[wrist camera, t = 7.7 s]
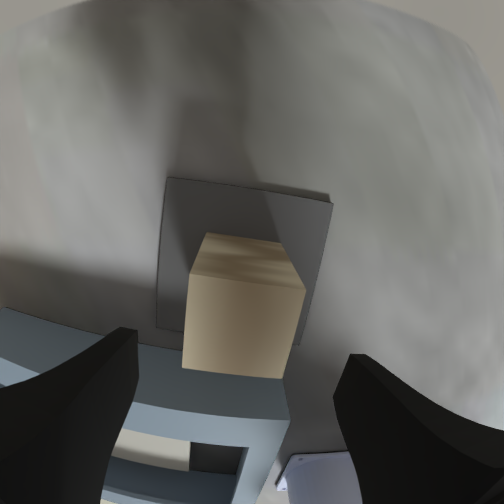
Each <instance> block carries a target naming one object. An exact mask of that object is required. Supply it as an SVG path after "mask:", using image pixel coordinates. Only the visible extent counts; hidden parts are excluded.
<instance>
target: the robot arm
mask: <svg viewBox="0 0 504 504" xmlns="http://www.w3.org/2000/svg"><path fill="white" fill-rule="evenodd" d="M138 381H139V361H138V331H137V330H133V329H128V328H123V327H119V328H118V329H116V330H114V331H113V332H111V333H110V334H108V335H107V336H105V337H104V338H102V339H101V340H99V341H98V342H96V343H95V344H93V345H92V346H90V347H89V348H87V349H86V350H84V351H82V352H81V353H79V354H78V355H76V356H74V357H72V358H70V359H69V360H67V361H65V362H63V363H62V364H60V365H58V366H56V367H54V368H52V369H50V370H48V371H46V372H44V373H42V374H39V375H37V376H35V377H32V378H30V379H27V380H25V381H22V382H18V383H15V384H12V385H9V386H6V387H3V388H0V504H100V500H101V495H102V490H103V485H104V480H105V476H106V472H107V468H108V464H109V460H110V457H111V454H112V451H113V448H114V446H115V443H116V441H117V439H118V436H119V434H120V431H121V429H122V426H123V424H124V422H125V419H126V417H127V414H128V412H129V410H130V407H131V405H132V402H133V399H134V395H135V392H136V388H137V384H138ZM333 400H334V406H335V411H336V415H337V420H338V423H339V426H340V429H341V431H342V434H343V437H344V440H345V442H346V445H347V448H348V451H347V452H336V453H322V454H299V455H293V456H291V458H290V460H289V462H288V464H287V466H286V468H285V470H284V472H283V474H282V476H281V478H280V480H279V482H278V484H277V486H276V490H278V491H282V490H288V496H289V502H290V504H504V431H503V430H499V429H495V428H491V427H488V426H485V425H482V424H479V423H476V422H474V421H471V420H469V419H466V418H464V417H461V416H459V415H457V414H455V413H453V412H451V411H449V410H447V409H445V408H443V407H441V406H440V405H438V404H436V403H434V402H433V401H431V400H430V399H428V398H427V397H425V396H423V395H422V394H420V393H419V392H417V391H416V390H414V389H413V388H412V387H410V386H409V385H407V384H406V383H405V382H403V381H402V380H401V379H399V378H398V377H397V376H395V375H394V374H393V373H391V372H390V371H389V370H387V369H386V368H385V367H383V366H382V365H380V364H379V363H378V362H376V361H375V360H373V359H372V358H370V357H369V356H367V355H366V354H350V356H349V358H348V361H347V363H346V366H345V368H344V371H343V373H342V376H341V378H340V381H339V383H338V385H337V388H336V390H335V392H334V395H333Z"/></svg>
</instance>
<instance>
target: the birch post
mask: <svg viewBox="0 0 504 504" xmlns="http://www.w3.org/2000/svg"><path fill="white" fill-rule="evenodd" d="M305 293H306V288H305V286H304V285H303V283H302V281H301V279H300V277H299V275H298V273H297V272H296V270H295V268H294V266H293V264H292V262H291V261H290V259H289V257H288V255H287V253H286V251H285V250H284V248H283V246H282V244H281V243H276V242H269V241H263V240H256V239H250V238H243V237H236V236H230V235H223V234H216V233H210V232H206V235H205V237H204V240H203V242H202V244H201V247H200V249H199V252H198V254H197V257H196V259H195V261H194V264H193V266H192V269H191V271H190V274H189V284H188V295H187V306H186V317H185V330H184V343H183V359H182V368H188V369H195V370H201V371H209V372H216V373H224V374H233V375H242V376H253V377H264V378H278V379H282V377H283V374H284V370H285V367H286V363H287V360H288V357H289V353H290V350H291V346H292V342H293V339H294V335H295V332H296V328H297V324H298V320H299V317H300V313H301V309H302V305H303V301H304V297H305Z"/></svg>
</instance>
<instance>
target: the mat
mask: <svg viewBox="0 0 504 504" xmlns="http://www.w3.org/2000/svg"><path fill="white" fill-rule="evenodd" d="M332 209H333V203H330V202H325V201H320V200H315V199H309V198H304V197H299V196H293V195H288V194H282V193H276V192H270V191H264V190H258V189H252V188H245V187H239V186H232V185H225V184H218V183H211V182H204V181H196V180H188V179H180V178H172V177H168V178H167V185H166V193H165V202H164V211H163V221H162V231H161V243H160V256H159V271H158V289H157V315H156V328H162V329H168V330H174V331H180V332H184V330H185V317H186V306H187V295H188V284H189V274H190V271H191V269H192V266H193V264H194V261H195V259H196V257H197V254H198V252H199V249H200V247H201V244H202V242H203V240H204V237H205V235H206V232H210V233H216V234H223V235H230V236H236V237H243V238H250V239H256V240H263V241H269V242H276V243H281V244H282V246H283V248H284V250H285V251H286V253H287V255H288V257H289V259H290V261H291V262H292V264H293V266H294V268H295V270H296V272H297V273H298V275H299V277H300V279H301V281H302V283H303V285H304V286H305V288H306V293H305V297H304V301H303V305H302V309H301V313H300V317H299V320H298V324H297V328H296V332H295V335H294V339H293V342H292V345H299V344H300V340H301V337H302V333H303V330H304V326H305V322H306V319H307V315H308V311H309V308H310V304H311V300H312V296H313V292H314V288H315V284H316V280H317V276H318V272H319V268H320V264H321V259H322V255H323V251H324V246H325V242H326V237H327V233H328V228H329V224H330V219H331V214H332Z"/></svg>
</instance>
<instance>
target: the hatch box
mask: <svg viewBox="0 0 504 504" xmlns="http://www.w3.org/2000/svg"><path fill="white" fill-rule="evenodd" d="M104 337H105V336H103V335H99V334H94V333H90V332H86V331H82V330H79V329H75V328H71V327H67V326H64V325H60V324H57V323H53V322H50V321H46V320H43V319H40V318H36V317H33V316H30V315H27V314H24V313H21V312H18V311H15V310H12V309H9V308H6V307H3V308H2V309H1V310H0V388H3V387H6V386H9V385H12V384H15V383H18V382H22V381H25V380H27V379H30V378H32V377H35V376H37V375H39V374H42V373H44V372H46V371H48V370H50V369H52V368H54V367H56V366H58V365H60V364H62V363H63V362H65V361H67V360H69V359H70V358H72V357H74V356H76V355H78V354H79V353H81V352H82V351H84V350H86V349H87V348H89V347H90V346H92V345H93V344H95V343H96V342H98V341H99V340H101V339H102V338H104ZM182 359H183V351H179V350H173V349H167V348H161V347H156V346H150V345H145V344H140V343H138V361H139V381H138V384H137V388H136V392H135V395H134V399H133V402H132V405H131V407H130V410H129V412H128V414H127V417H126V419H125V422H124V424H123V426H122V429H121V431H120V434H119V436H118V439H117V441H116V443H115V446H114V448H113V451H112V454H111V457H110V460H109V464H108V468H107V472H106V476H105V480H104V485H103V490H102V495H101V499H104V500H107V501H111V502H114V503H118V504H255V502H256V500H257V498H258V496H259V494H260V492H261V490H262V488H263V485H264V483H265V481H266V479H267V477H268V474H269V472H270V470H271V468H272V465H273V463H274V461H275V458H276V456H277V454H278V451H279V449H280V446H281V444H282V442H283V439H284V437H285V434H286V432H287V429H288V427H289V424H290V421H291V418H290V413H289V409H288V404H287V399H286V395H285V390H284V385H283V380H282V379H278V378H264V377H253V376H242V375H233V374H224V373H216V372H209V371H201V370H195V369H188V368H182ZM191 442H198V443H206V444H215V445H225V446H237V447H243V451H242V454H241V458H240V462H239V465H238V469H237V472H236V475H232V474H219V473H209V472H200V471H192V470H189V465H190V454H191Z"/></svg>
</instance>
